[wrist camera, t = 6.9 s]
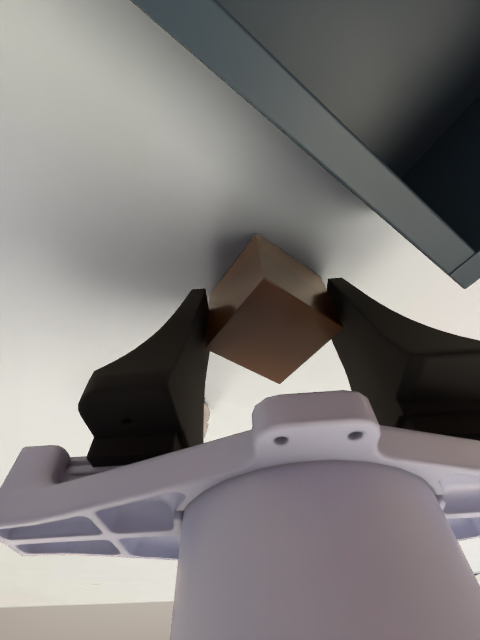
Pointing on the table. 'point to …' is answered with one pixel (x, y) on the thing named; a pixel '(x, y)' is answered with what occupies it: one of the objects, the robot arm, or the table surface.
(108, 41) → the table surface
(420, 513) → the robot arm
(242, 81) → the dark grey open box
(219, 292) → the block
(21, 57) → the table surface
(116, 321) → the table surface
